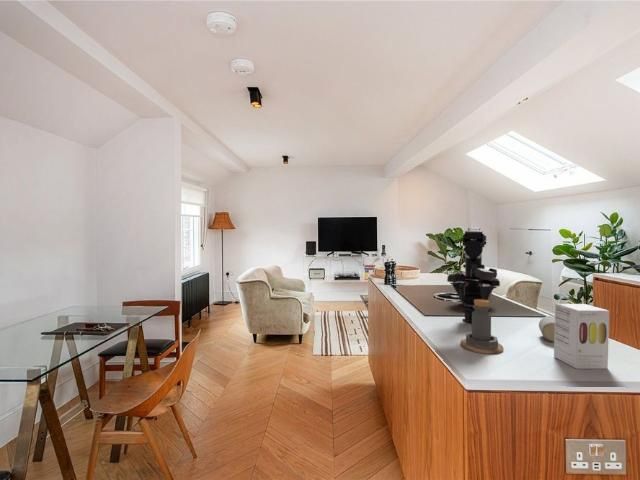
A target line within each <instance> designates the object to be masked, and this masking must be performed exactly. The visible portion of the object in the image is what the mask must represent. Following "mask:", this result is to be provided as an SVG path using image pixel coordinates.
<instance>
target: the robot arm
mask: <svg viewBox="0 0 640 480" xmlns="http://www.w3.org/2000/svg"><path fill="white" fill-rule="evenodd" d="M486 245H487V236H486V233H484V232H483V230H481V227H478V226H477V227H473V226H472V227H468V228H467V230H464V233H462V246H463V247H464V253H465V254H464V255H465V257H464V260H465V264H463V265H462V268H464V270H465V271H464V272H465V275H463V274H457V273H450V274H448V276H447V279H446V281H447V282H448V283H450V285H451V286H452V287H453V288H454V290H455V292H456V294H457V296H458V298H459V299H458V300H459V301H460V303H461V302H463V305H462V308H464V309H465V310H464V318H462V321H463V322H466V323H470V324H472V312H473V311H475V309H474V308H473V305H475V304H474V300H475V299H484V300H487V299H488V297H489V294H490V293H491V291H492V292H493V290H494V289H497V287H500V286H501V285H500V284H501V283H500V280H499V279H498V277H497V276H498V269H496V268H492V267H490V268H488V269H486V268H485V267H486V266H485V264H483V263H482V262H483V260H482V259H483V256H482V255H483V254H482V253H483V252H484V251H483V250H484V248H485V246H486ZM495 278H496V279H495ZM464 282H469V284H468V285H467V286H466V287H465V285H466V283H464ZM479 284H481V285H482V286H483V287H481V286H480V285H479ZM464 287H465V293H464ZM465 303H466V304H465Z"/></svg>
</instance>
